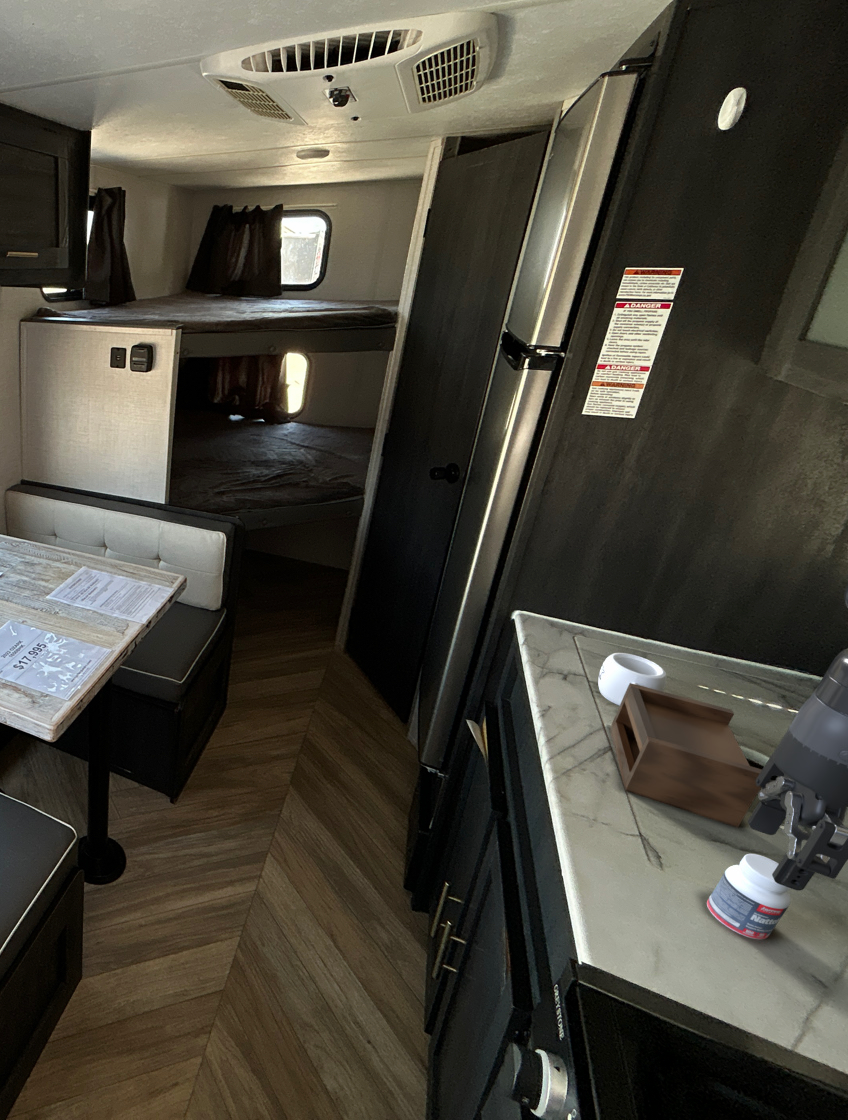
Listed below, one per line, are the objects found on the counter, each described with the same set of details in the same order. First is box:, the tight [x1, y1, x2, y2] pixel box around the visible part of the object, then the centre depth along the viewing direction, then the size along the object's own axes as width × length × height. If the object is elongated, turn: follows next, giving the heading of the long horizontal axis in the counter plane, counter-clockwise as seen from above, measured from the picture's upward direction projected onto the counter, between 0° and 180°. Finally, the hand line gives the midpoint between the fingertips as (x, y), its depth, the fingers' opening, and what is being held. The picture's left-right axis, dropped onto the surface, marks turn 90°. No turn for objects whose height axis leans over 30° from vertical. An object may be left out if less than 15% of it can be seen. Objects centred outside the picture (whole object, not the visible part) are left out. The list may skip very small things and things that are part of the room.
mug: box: [597, 652, 668, 706], centre depth 110 cm, size 12×8×8 cm
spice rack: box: [609, 683, 762, 829], centre depth 95 cm, size 12×16×10 cm
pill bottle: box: [706, 853, 792, 940], centre depth 74 cm, size 5×5×9 cm
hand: (772, 855), depth 71 cm, fingers open, 8 cm apart
